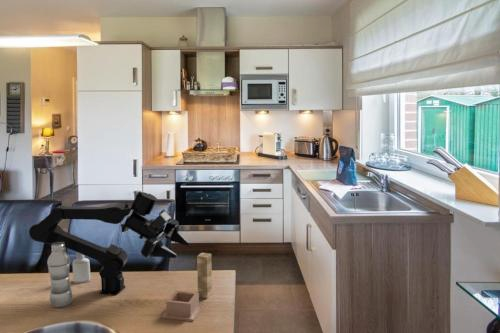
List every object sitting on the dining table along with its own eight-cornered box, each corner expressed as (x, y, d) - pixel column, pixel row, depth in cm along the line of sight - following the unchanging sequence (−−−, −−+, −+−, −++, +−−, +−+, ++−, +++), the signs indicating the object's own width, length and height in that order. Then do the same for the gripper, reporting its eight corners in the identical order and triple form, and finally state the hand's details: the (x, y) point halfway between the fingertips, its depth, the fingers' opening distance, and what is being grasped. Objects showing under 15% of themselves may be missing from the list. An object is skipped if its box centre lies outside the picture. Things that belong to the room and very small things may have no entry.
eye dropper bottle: (84, 284, 145) (83, 251, 143) (71, 282, 146) (69, 250, 144) (92, 279, 149) (90, 247, 147) (79, 277, 150) (77, 246, 149)
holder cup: (161, 317, 121) (160, 303, 120) (174, 302, 131) (173, 288, 130) (193, 321, 119) (193, 306, 118) (204, 305, 129) (203, 291, 128)
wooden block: (197, 296, 135) (197, 256, 133) (202, 292, 138) (201, 252, 136) (207, 298, 134) (207, 257, 132) (211, 294, 137) (211, 253, 135)
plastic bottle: (77, 302, 131) (74, 241, 128) (61, 311, 125) (57, 248, 122) (61, 298, 133) (58, 239, 130) (45, 308, 127) (41, 246, 124)
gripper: (135, 217, 125) (178, 243, 123) (164, 198, 142) (202, 220, 140) (124, 245, 129) (166, 271, 127) (154, 223, 146) (191, 245, 144)
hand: (182, 250), depth 134 cm, fingers open, 9 cm apart
